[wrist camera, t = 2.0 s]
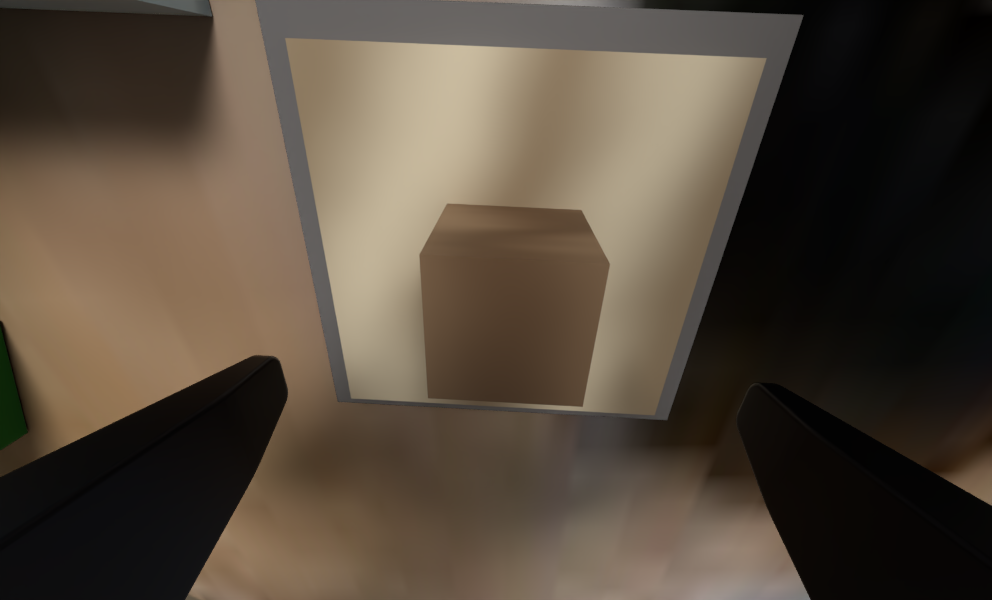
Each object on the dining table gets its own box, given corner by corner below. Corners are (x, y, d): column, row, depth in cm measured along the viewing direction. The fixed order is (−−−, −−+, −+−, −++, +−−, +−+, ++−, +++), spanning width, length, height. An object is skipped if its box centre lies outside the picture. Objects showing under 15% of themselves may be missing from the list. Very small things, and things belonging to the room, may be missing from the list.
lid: (749, 59, 10) (907, 45, 6) (648, 400, 16) (695, 511, 12) (300, 41, 11) (161, 14, 6) (358, 385, 16) (304, 488, 12)
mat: (793, 17, 10) (803, 15, 10) (663, 413, 17) (666, 420, 17) (262, -4, 11) (253, -8, 10) (341, 395, 17) (337, 401, 17)
